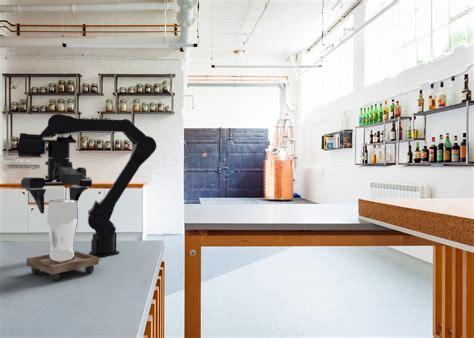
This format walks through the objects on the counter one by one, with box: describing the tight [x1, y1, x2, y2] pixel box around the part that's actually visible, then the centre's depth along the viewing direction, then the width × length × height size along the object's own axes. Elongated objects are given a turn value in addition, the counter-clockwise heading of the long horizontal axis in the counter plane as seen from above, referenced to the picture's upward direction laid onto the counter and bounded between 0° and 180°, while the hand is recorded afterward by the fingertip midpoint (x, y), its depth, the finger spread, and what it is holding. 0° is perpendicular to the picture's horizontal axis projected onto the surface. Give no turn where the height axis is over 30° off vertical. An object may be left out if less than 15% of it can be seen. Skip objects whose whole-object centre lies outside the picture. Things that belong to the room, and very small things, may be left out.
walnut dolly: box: [26, 250, 99, 282], centre depth 99 cm, size 12×12×4 cm
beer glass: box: [46, 198, 79, 264], centre depth 99 cm, size 7×7×15 cm
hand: (57, 212), depth 115 cm, fingers open, 9 cm apart
